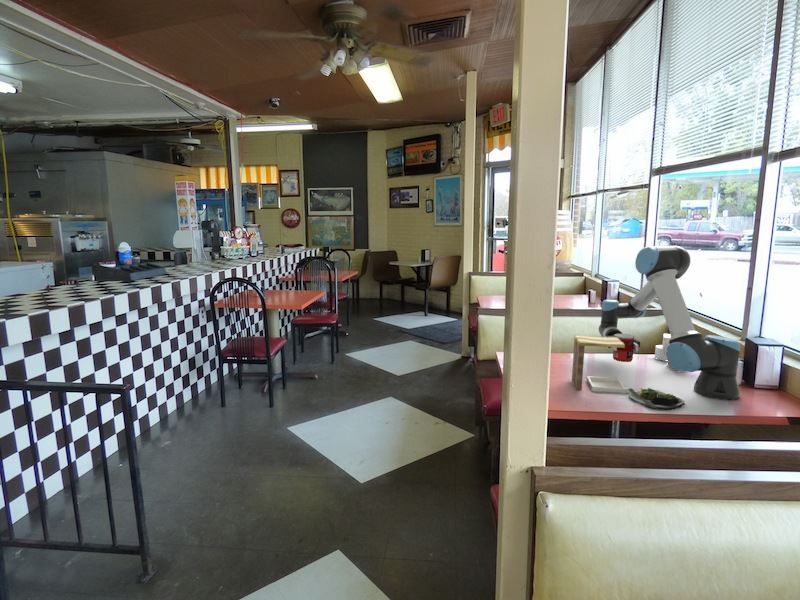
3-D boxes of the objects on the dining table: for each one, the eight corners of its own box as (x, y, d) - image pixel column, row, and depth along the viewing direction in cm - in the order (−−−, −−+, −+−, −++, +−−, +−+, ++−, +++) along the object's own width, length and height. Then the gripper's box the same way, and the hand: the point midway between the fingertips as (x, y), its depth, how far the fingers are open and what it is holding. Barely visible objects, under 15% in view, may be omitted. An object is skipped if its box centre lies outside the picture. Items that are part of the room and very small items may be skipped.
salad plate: (614, 396, 181) (615, 385, 180) (644, 388, 188) (645, 378, 188) (659, 414, 164) (660, 402, 163) (690, 405, 171) (692, 394, 170)
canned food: (630, 363, 195) (632, 338, 193) (610, 360, 199) (612, 335, 198) (634, 359, 201) (635, 335, 199) (614, 356, 205) (616, 332, 204)
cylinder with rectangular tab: (675, 362, 222) (677, 338, 220) (654, 359, 227) (656, 336, 224) (675, 357, 230) (677, 334, 228) (654, 355, 234) (656, 332, 232)
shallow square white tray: (586, 380, 198) (586, 376, 197) (618, 382, 195) (618, 378, 195) (592, 391, 185) (592, 386, 185) (626, 393, 183) (626, 388, 182)
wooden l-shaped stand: (571, 380, 198) (574, 335, 195) (613, 382, 195) (617, 337, 191) (576, 389, 187) (579, 342, 183) (620, 392, 183) (624, 344, 180)
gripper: (636, 344, 215) (652, 357, 193) (589, 342, 219) (600, 355, 197) (637, 328, 214) (653, 340, 192) (590, 327, 218) (601, 338, 196)
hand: (626, 348), depth 194 cm, fingers closed on canned food, 8 cm apart
